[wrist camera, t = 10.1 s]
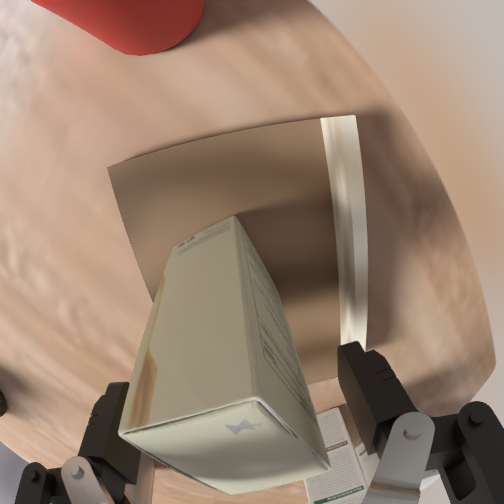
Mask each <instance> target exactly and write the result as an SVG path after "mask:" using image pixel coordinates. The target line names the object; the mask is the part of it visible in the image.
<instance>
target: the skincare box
mask: <svg viewBox="0 0 504 504" xmlns="http://www.w3.org/2000/svg"><path fill="white" fill-rule="evenodd" d="M118 434H119V436H120V437H121V438H123V439H124V440H126V441H127V442H129V443H130V444H131V445H133V446H135V447H136V448H137V449H139V450H140V451H142V452H143V453H145V454H147V455H148V456H150V457H151V458H153V459H155V460H157V461H158V462H160V463H162V464H164V465H165V466H167V467H169V468H171V469H173V470H175V471H176V472H178V473H180V474H182V475H184V476H186V477H188V478H190V479H192V480H194V481H196V482H199V483H201V484H203V485H205V486H207V487H210V488H213V489H215V490H218V491H220V492H222V493H225V494H227V495H235V494H240V493H247V492H252V491H258V490H263V489H267V488H271V487H276V486H280V485H284V484H288V483H292V482H295V481H299V480H302V479H306V478H309V477H312V476H315V475H319V474H322V473H325V472H327V471H329V470H330V469H331V465H330V461H329V458H328V454H327V451H326V447H325V444H324V440H323V437H322V434H321V430H320V427H319V423H318V420H317V417H316V413H315V410H314V407H313V403H312V400H311V397H310V393H309V390H308V387H307V383H306V380H305V377H304V374H303V370H302V367H301V364H300V360H299V357H298V354H297V351H296V347H295V344H294V341H293V338H292V334H291V331H290V328H289V325H288V321H287V318H286V315H285V312H284V309H283V305H282V302H281V299H280V296H279V292H278V290H277V288H276V286H275V284H274V282H273V280H272V278H271V276H270V275H269V273H268V271H267V269H266V267H265V265H264V263H263V262H262V260H261V258H260V256H259V254H258V253H257V251H256V249H255V247H254V245H253V244H252V242H251V240H250V239H249V237H248V235H247V233H246V232H245V230H244V228H243V227H242V225H241V224H240V222H239V220H238V219H237V217H236V216H231V217H229V218H227V219H225V220H223V221H221V222H218V223H216V224H214V225H212V226H210V227H208V228H206V229H204V230H202V231H200V232H198V233H197V234H195V235H193V236H191V237H189V238H187V239H186V240H184V241H182V242H181V243H179V244H177V245H176V246H174V247H173V249H172V252H171V255H170V257H169V260H168V263H167V265H166V268H165V271H164V274H163V277H162V280H161V283H160V286H159V289H158V292H157V295H156V297H155V301H154V304H153V306H152V310H151V312H150V316H149V319H148V322H147V325H146V329H145V332H144V335H143V338H142V342H141V345H140V349H139V352H138V356H137V359H136V363H135V367H134V370H133V373H132V378H131V381H130V385H129V389H128V393H127V397H126V400H125V405H124V409H123V413H122V417H121V422H120V426H119V430H118Z"/></svg>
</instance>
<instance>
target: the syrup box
mask: <svg viewBox="0 0 504 504" xmlns="http://www.w3.org/2000/svg"><path fill="white" fill-rule="evenodd" d="M316 417H317V420H318V423H319V427H320V430H321V434H322V437H323V440H324V444H325V447H326V451H327V454H328V458H329V461H330V465H331V469H330V470H329V471H327V472H325V473H322V474H319V475H315V476H312V477H309V478H306V479H304V483H305V488H306V492H307V496H308V500H309V503H310V504H361V503H362V501H363V498H364V496H365V494H366V492H367V490H368V488H369V487H368V484H367V481H366V479H365V476H364V473H363V470H362V467H361V465H360V462H359V459H358V456H357V454H356V451H355V448H354V446H353V443H352V440H351V438H350V435H349V432H348V430H347V427H346V425H345V422H344V419H343V417H342V414H341V412H340V409H339V408H338V407H336V408H332V409H329V410H326V411H323V412H320V413H317V414H316Z"/></svg>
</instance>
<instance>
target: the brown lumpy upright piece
mask: <svg viewBox="0 0 504 504" xmlns="http://www.w3.org/2000/svg"><path fill="white" fill-rule="evenodd" d="M5 411H6V401H5V398H4V396H3V394H2V392H1V390H0V417H1V416H3V415H4V413H5Z"/></svg>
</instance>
